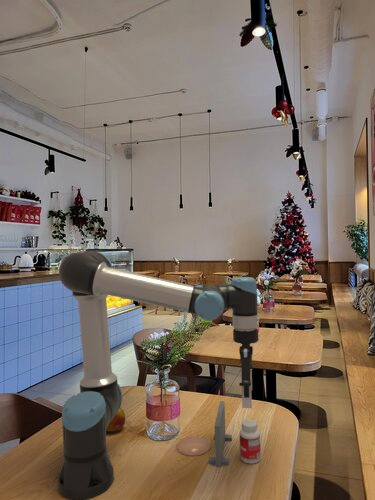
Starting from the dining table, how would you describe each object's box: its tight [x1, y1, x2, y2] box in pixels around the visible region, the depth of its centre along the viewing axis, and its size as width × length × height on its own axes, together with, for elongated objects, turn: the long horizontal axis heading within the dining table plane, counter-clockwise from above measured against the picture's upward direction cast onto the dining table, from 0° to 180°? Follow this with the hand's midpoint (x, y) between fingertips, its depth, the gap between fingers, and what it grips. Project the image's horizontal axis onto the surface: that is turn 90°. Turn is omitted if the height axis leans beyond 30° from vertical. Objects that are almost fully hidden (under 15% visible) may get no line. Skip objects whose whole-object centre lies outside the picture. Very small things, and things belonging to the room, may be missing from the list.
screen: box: [208, 400, 233, 468], centre depth 121 cm, size 18×6×12 cm, turn 170°
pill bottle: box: [239, 419, 262, 464], centre depth 115 cm, size 6×6×11 cm
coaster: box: [176, 435, 212, 457], centre depth 123 cm, size 11×11×1 cm
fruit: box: [106, 407, 126, 432], centre depth 137 cm, size 10×9×8 cm
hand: (247, 398), depth 115 cm, fingers open, 13 cm apart
